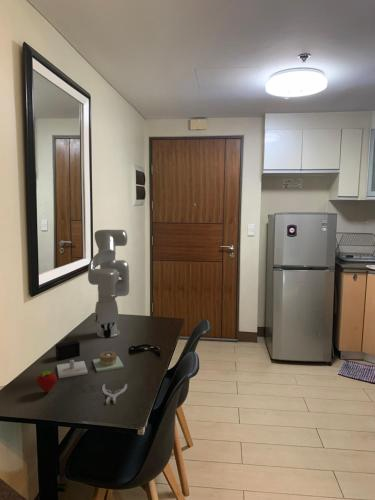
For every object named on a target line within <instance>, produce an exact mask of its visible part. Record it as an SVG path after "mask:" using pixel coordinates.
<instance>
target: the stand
mask: <svg viewBox="0 0 375 500" xmlns="http://www.w3.org/2000/svg"><path fill="white" fill-rule="evenodd" d="M56 367H57V369H56V370H57V376H58V379H64V378H68V377H69V378H70V377H75V376H81V375H88V374H89V373H88V368H87V366H86V363H85V360H80V361H75V359H69V363H68V362H65V363H61V364H56Z"/></svg>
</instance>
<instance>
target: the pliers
mask: <svg viewBox="0 0 375 500" xmlns="http://www.w3.org/2000/svg"><path fill="white" fill-rule="evenodd" d="M127 388H128V383H125V385H124V387H123V388H122V389H118V390H115V391H114V393H113V392H112V391H111V390H109V389H106V384H103V385H102V389H101V390H102V393H103V394H104V395H105V396H106V397H107V398H106V400H105V405H109V403H110V402H111V401H112V402H113V405H116V402H117V397H118V396H120V395H122V394H123V393H124V392H126V390H127Z"/></svg>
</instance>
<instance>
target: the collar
mask: <svg viewBox="0 0 375 500" xmlns="http://www.w3.org/2000/svg"><path fill="white" fill-rule="evenodd" d="M106 354H110V356H106ZM116 356H117V354H116V352H115V351H111V350H109V351H103V352H101V353H100V354H99V359H100V364H101V365H103V366H111V365H114V364H115V363H116Z"/></svg>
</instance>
